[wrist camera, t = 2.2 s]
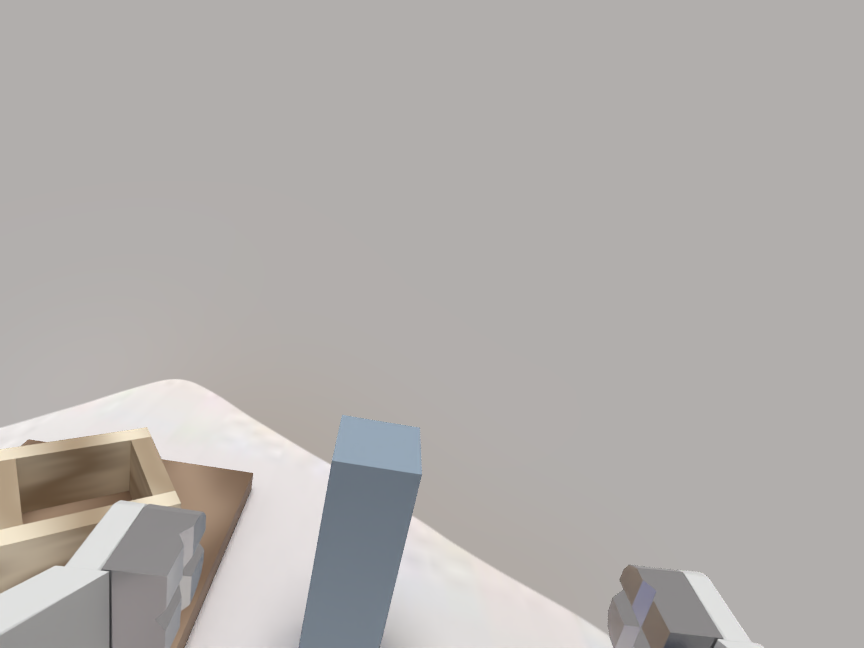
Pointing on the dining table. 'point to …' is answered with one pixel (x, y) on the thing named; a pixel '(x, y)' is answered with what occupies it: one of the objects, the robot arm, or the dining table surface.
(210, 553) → the socket board
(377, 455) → the slate peg
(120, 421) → the dining table surface
